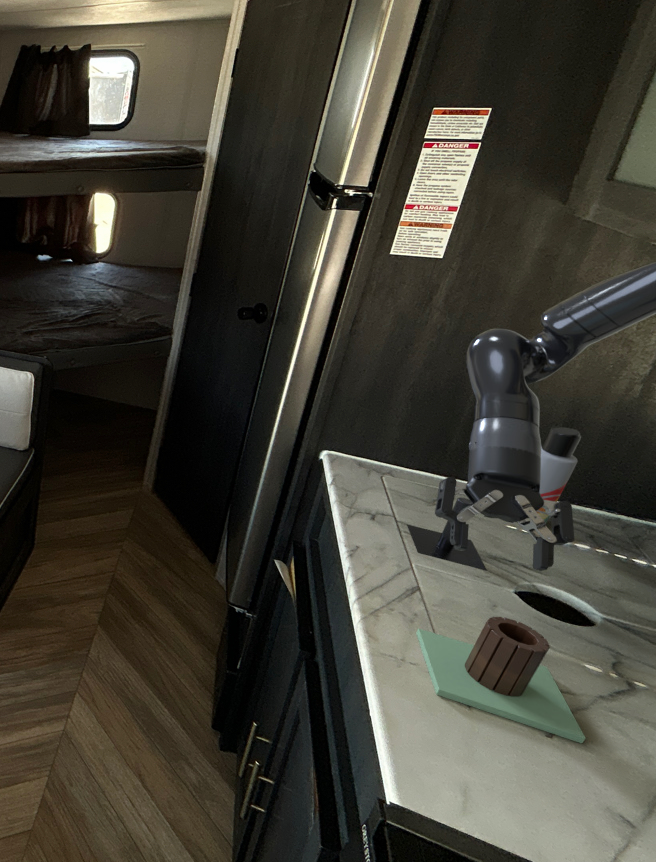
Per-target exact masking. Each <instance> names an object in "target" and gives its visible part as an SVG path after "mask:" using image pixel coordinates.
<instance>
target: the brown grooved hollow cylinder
mask: <svg viewBox="0 0 656 862" xmlns="http://www.w3.org/2000/svg"><path fill="white" fill-rule="evenodd" d="M473 645H474V647H473V649H472V651H471V653H470V655H469V657H468V659H467V660H466V662H465V665H464V666H465V668H466V671H467V672H468V673H469V675H470V676H471V677H472V678H473V679H474V680H475V681H476V682H480V683H479V684H481V685H482V686H484V687H486V688H488V689H489V690H491V691H492V690H494V692H496V693H499V694H502V695H505V696H507V695H509V696H521V695H522V694H523V693H524V691H525V690H526V688H527V686H528V684H529V683H530V681H531V679H532V678H533V676H534V674H535V672H536V671H537V669H538V667H539V665H542V662H543V660H544V659H545V657H546V656H547V653H548V652H549V650H550V649H551V648H550V646H551V645H550V643H549V641H548V640H547V638H545V636H543V635H542V634H541V633H539V631H537V630H535V629H533V628H532V627H531V626H529V625H527V624H525V623H522V622H520V621H517V620H515V619H512V618H508V617H502V616H492V617H489V618H488V619H487V620H486V621H485V624H484V626H483V628H482V630H481V632H480V633H479V635H478V637H477V639H476V641H475V643H474V644H473Z"/></svg>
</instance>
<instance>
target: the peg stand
mask: <svg viewBox="0 0 656 862" xmlns="http://www.w3.org/2000/svg"><path fill="white" fill-rule="evenodd" d="M471 503H472V502H471V501H470V500H469V498H465V497H462V496H461V497H457V499H456V500H455V502H454V504H453V509H452V510H453V511H455V512H457V513H459V512H460V511H461V510H463V509H464V508H466V507H467V506H469V505H470V504H471ZM406 526H407V527H406V528H407V529H408V532H409V534H410V537H411V540H412V542H413V544H414V547H415V549H416V552H417V554H421V555H424V556H429V557H432V558H436V559H439V560H444V561H447V562H451V563H455V564H459V565H462V566H467V567H471V568H474V569H478V570H483V571H488V570H487V568H486V566H485V563H484V562H483V561H482V558H481V556H480V554H479V553H478V550H477V549H476V547H475V545H474V543H473V541H472V540H471V539H469V538H468V545H467V549H466V550H463V551H459V550H455V545H451V542H450V531H451V524H450V522H449V521H448V520H446V523H445V525H444V527H443V530H442V532H440V531H436V530H431V529H427V528H424V527H419V526H415V525H412V524H408V523H406Z"/></svg>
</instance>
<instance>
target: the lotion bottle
mask: <svg viewBox="0 0 656 862" xmlns="http://www.w3.org/2000/svg"><path fill="white" fill-rule="evenodd" d="M581 439H582V435H581V433H580V431H578V430H576V429H574V428H569V427H565V426H552V427H551V428H550V429H549V431H548V432H547V434H546V437H545V439H544V441H543V443H542V444H541V480H540V495H541V497H542V498H543V500H549V501H555V502H559V499H560V498H561V495H562V493H563V491H564V490H565V488H566V486H567V483H568V482H569V480H570V478H571V476H572V474H573V472H574V470H575V468H576V466H577V464H578V462H579V461H578V458H577V457H576V456H575V455H574V453H575V451H576V449H577V448H578V447H577V446H578V445H579V443H580V441H581ZM536 512H537V513H538V514H539V515H540V516H541V518H542V519H543V520H544V521H545V523H546V524H547V522H548V520H549V518H550V516H549V515H547V513H546V510H545V509H544V508H542V507H541V508H540V509H539V510H537V511H536ZM528 520H529V519H528ZM529 521H530V520H529Z"/></svg>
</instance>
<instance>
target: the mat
mask: <svg viewBox="0 0 656 862" xmlns="http://www.w3.org/2000/svg"><path fill="white" fill-rule="evenodd" d="M415 633H416V637H417V640H418V643H419V646H420V649H421V652H422V655H423V658H424V661H425V664H426V668H427V670H428V673H429V676H430V680H431V683H432V685H433V688H434V691H435V694H436V695H437V696H440V697H442V698H445V699H449V700H451V701H455V702H458V703H461V704H463V705H466V706H469V707H472V708H474V709H478V710H481V711H484V712H487V713H490V714H492V715H496V716H499V717H501V718H505V719H508V720H511V721H514V722H517V723H519V724H523V725H525V726H529V727H532V728H535V729H537V730H541V731H544V732H546V733H550V734H552V735H555V736H558V737H562V738H564V739H567V740H570V741H574V742H576V743H579V744H583V743H584V742H585V740H586V736H585V733H584V732H583V731H582V729H581V727H580V725H579V723H578V722H577V720H576V718H575V716H574V714H573V712H572V710H571V709H570V706H569V705H568V703H567V701H566V699H565V697H564V696H563V694H562V692H561V690H560V687H559V686H558V684H557V682H556V681H555V679H554V677H553V675H552V674H551V671H550V670H549V668H548V667H547V666H545V665H542V664H540V665H539V667H538V669H537V671H536V672H535V674H534V676H533V678H532V679H531V681H530V683H529V684H528V686H527V688H526V690H525V691H524V693H523V694H522V695H521V696H509V695H507V696H505V695H502V694H499V693H496V692H494V690H492V691H491V690H489V689H488V688H486V687H484V686H482V685H481V684H479V683H480V682H476V681H475V680H474V679H473V678H472V677H471V676H470V675H469V673H468V672H467V671H466V668H465V666H464V665H465V662H466V660H467V659H468V657H469V655H470V653H471V651H472V649H473V647H474V645H475V644H472V643H468V642H465V641H462V640H459V639H455V638H452V637H449V636H445V635H443V634H442V635H441V634H438V633H435V632H433V631H429V630H426V629H422V628H417V631H416V632H415Z"/></svg>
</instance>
